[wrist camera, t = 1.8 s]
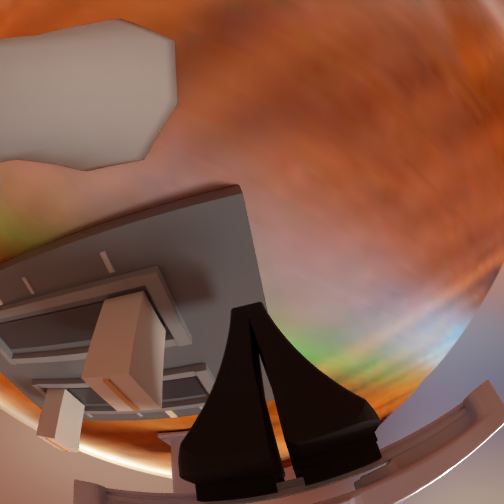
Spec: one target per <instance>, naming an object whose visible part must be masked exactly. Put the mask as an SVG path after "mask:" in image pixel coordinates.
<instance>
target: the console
mask: <svg viewBox="0 0 504 504" xmlns="http://www.w3.org/2000/svg"><path fill="white" fill-rule="evenodd" d="M140 291H144V292H145V294H146V296H147V298H148V300H149V301H150V303H151V305H152V307H153V309H154V311H155V313H156V314H157V316H158V318H159V320H160V321H161V323H162V325H163V327H164V328H165V330H166V333H165V346H164V362H163V384H162V409H154V410H141V411H120V412H118V411H117V410H115V409H114V408H113V407H112V406H111V405H110V404H108V403H107V402H106V401H105V400H104V399H103V398H102V397H101V396H100V395H98V394H97V393H96V392H95V391H94V390H93V389H92V388H91V387H90V386H89V385H88V384H87V383H86V382H85V381H84V380H83V379H82V378H81V376H82V372H83V368H84V365H85V361H86V357H87V354H88V350H89V347H90V343H91V340H92V337H93V333H94V330H95V327H96V324H97V321H98V318H99V315H100V312H101V309H102V306H103V303H104V300H105V299H110V298H114V297H119V296H123V295H127V294H132V293H136V292H140ZM256 302H262V303H263V305H264V307H265V309H266V311H267V307H266V302H265V297H264V293H263V288H262V283H261V278H260V273H259V269H258V264H257V259H256V254H255V250H254V245H253V240H252V235H251V230H250V226H249V221H248V216H247V211H246V207H245V202H244V197H243V193H242V190H241V188H240V186H239V185H236V186H232V187H228V188H224V189H220V190H215V191H211V192H208V193H204V194H200V195H196V196H192V197H188V198H185V199H181V200H178V201H174V202H170V203H167V204H163V205H160V206H157V207H153V208H150V209H146V210H143V211H140V212H137V213H133V214H130V215H127V216H124V217H121V218H118V219H115V220H112V221H109V222H106V223H103V224H100V225H97V226H94V227H91V228H88V229H85V230H83V231H80V232H77V233H74V234H72V235H69V236H66V237H63V238H61V239H58V240H56V241H53V242H50V243H48V244H45V245H43V246H40V247H38V248H35V249H33V250H30V251H28V252H26V253H23V254H21V255H19V256H16V257H14V258H12V259H9V260H7V261H5V262H3V263H0V372H1V373H2V374H3V375H4V376H5V377H6V378H7V379H8V380H9V381H10V382H12V383H13V384H14V385H15V386H16V387H17V388H18V389H19V390H20V391H21V392H22V393H23V394H24V395H26V396H27V397H28V398H29V399H30V400H31V401H33V402H34V403H35V404H36V405H37V406H39V407H40V408H41V409H42V408H43V404H44V400H45V396H46V393H47V389H48V388H51V389H66V390H67V391H68V392H69V393H71V394H72V395H73V396H74V397H75V398H76V399H77V400H79V401H80V402H81V403H82V404H83V405H84V406H85V408H84V414H83V420H108V421H113V420H146V419H161V418H174V417H181V416H190V415H198V414H200V412H201V410H202V408H203V406H204V405H205V403H206V401H207V398H208V396H209V394H210V392H211V390H212V387H213V385H214V382H215V380H216V377H217V374H218V372H219V369H220V366H221V362H222V359H223V355H224V352H225V348H226V343H227V338H228V333H229V327H230V318H231V310H232V308H236V307H240V306H244V305H248V304H252V303H256ZM267 313H268V312H267ZM259 356H260V355H259ZM260 364H261V371H262V378H263V385H264V392H265V398H266V402H267V401H271V400H275V399H274V395H273V392H272V388H271V386H270V383H269V380H268V377H267V375H266V372H265V369H264V366H263V363H262V361H261V358H260Z"/></svg>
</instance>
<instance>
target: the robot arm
mask: <svg viewBox="0 0 504 504" xmlns="http://www.w3.org/2000/svg"><path fill="white" fill-rule="evenodd" d="M259 355H260V356H259ZM260 358H261V361H262V363H263V366H264V369H265V372H266V375H267V377H268V380H269V383H270V386H271V388H272V392H273V395H274V399H275V403H276V407H277V411H278V415H279V419H280V423H281V427H282V431H283V435H284V439H285V442H286V445H287V448H288V452H289V455H290V459H291V462H292V466H293V470H294V472H295V475H296V479H292V480H287V481H285V480H284V477H285V472H284V469H283V465H282V461H281V458H280V454H279V450H278V447H277V443H276V439H275V435H274V431H273V428H272V424H271V420H270V416H269V412H268V408H267V404H266V398H265V392H264V385H263V378H262V371H261V364H260ZM379 424H380V419H379V417H378V415H377V414H376V412H375V411H374V409H373V408H372V407H371V405H370V404H369V403H368V402H367V401H366V400H365V399H363V398H361V397H360V396H358V395H356V394H354V393H352V392H351V391H349V390H347V389H346V388H344V387H342V386H341V385H339V384H338V383H336V382H335V381H333V380H332V379H331V378H329V377H328V376H327V375H325V374H324V373H322V372H321V371H320V370H319V369H317V368H316V367H315V366H314V365H313V364H311V363H310V362H309V361H308V360H307V359H306V358H305V357H304V356H303V355H302V354H301V353H300V352H299V351H298V350H297V349H296V348H295V347H294V346H293V345H292V344H291V343H290V342H289V341H288V340H287V338H286V337H285V336H284V335H283V334H282V332H281V331H280V330H279V329H278V327H277V326H276V325H275V323H274V322H273V320H272V319H271V317H270V316H269V314H268V313H267V311H266V309H265V307H264V305H263V303H262V302H256V303H252V304H248V305H244V306H240V307H236V308H232V310H231V318H230V327H229V333H228V338H227V343H226V348H225V352H224V355H223V359H222V362H221V366H220V369H219V372H218V374H217V377H216V380H215V382H214V385H213V387H212V390H211V392H210V394H209V396H208V398H207V401H206V403H205V405H204V406H203V408H202V410H201V412H200V414H199V415H198V417H197V419H196V421H195V422H194V424H193V426H192V427H191V429H190V430H189V431H182V432H170V433H158V434H157V437H158V438H159V439H161V440H162V441H164V442H165V443H167V444H168V445H169V446H171V462H172V478H173V490H174V493H148V492H147V493H146V492H134V491H124V490H116V489H109V488H105V487H103V486H101V485H98V484H94V483H90V482H84V481H79V480H75V481H74V501H73V502H74V503H73V504H246V503H253V502H259V501H266V500H271V499H276V498H281V497H286V496H290V495H295V494H298V493H303V492H307V491H310V490H314V489H317V488H321V487H324V486H327V485H330V484H333V483H336V482H339V481H342V480H345V479H348V478H351V477H353V476H356V475H358V474H361V473H363V472H366V471H368V470H371V469H373V468H375V467H378V466H380V465H382V464H384V463H386V462H388V463H387V464H386V465H385V466H383V467H381V468H379V469H377V470H375V471H373V472H371V473H368V474H366V475H364V476H362V477H361V478H360V480H358V481H356V482H355V483H354V486H355V489H356V490H354V491H352V492H349V493H346V494H343V495H340V496H337V497H334V498H331V499H327V500H324V501H321V502H317V503H313V504H404V503H403V500H404V499H406V498H408V497H410V496H411V495H413V494H415V493H417V492H418V491H420V490H421V489H423V488H425V487H426V486H428V485H429V484H431V483H432V482H434V481H435V480H437V479H438V478H440V477H441V476H443V475H444V474H446V473H447V472H448V471H450V470H451V469H452V468H454V467H455V466H456V465H458V464H459V463H460V462H462V461H463V460H464V459H465V458H467V457H468V456H469V455H470V454H472V453H473V452H474V451H475V450H476V449H477V448H479V447H480V446H481V445H482V444H483V443H484V442H486V441H487V440H488V439H489V438H490V437H491V436H492V435H493V434H494V433H495V432H496V431H498V430H499V429H500V428H501V427H502V426H503V425H504V404H503V402H502V401H501V399H500V398H499V396H498V394H497V393H496V391H495V389H494V388H493V386H492V385H491V383H490V382H489V380H487V381H485V382H484V383H483V384H482V385H480V386H479V387H478V388H476V389H475V390H474V391H473V392H471V393H470V394H469V395H468V396H467V397H466V398H465V399H464V400H463V402H462V403H461V404H459V405H458V406H456V407H455V408H453V409H452V410H450V411H449V412H447V413H446V414H444V415H443V416H441V417H440V418H438V419H436V420H435V421H433V422H431V423H430V424H428V425H426V426H425V427H423V428H421V429H419V430H418V431H416V432H414V433H412V434H410V435H408V436H406V437H404V438H403V439H401V440H399V441H397V442H395V443H393V444H390V445H388V446H386V447H384V448H382V449H380V450H379V447H378V445H377V443H376V441H377V437H376V435H375V433H374V432H375V431H376V429H377V428H378V426H379Z"/></svg>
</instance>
